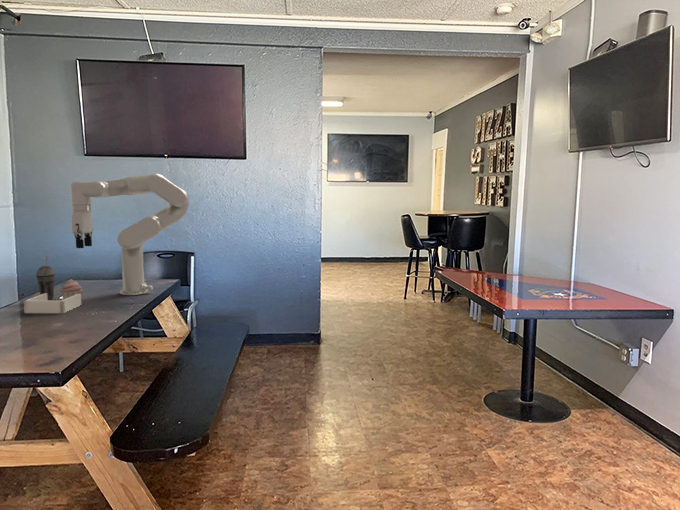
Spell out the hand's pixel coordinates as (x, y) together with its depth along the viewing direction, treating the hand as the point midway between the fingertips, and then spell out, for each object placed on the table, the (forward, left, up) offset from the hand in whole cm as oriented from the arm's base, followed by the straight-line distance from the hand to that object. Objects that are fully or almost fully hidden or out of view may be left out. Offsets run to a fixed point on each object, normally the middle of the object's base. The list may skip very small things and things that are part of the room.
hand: (84, 246), depth 227 cm
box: (0, +27, -23) cm, 35 cm away
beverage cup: (+11, +13, -23) cm, 29 cm away
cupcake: (0, +13, -23) cm, 26 cm away
